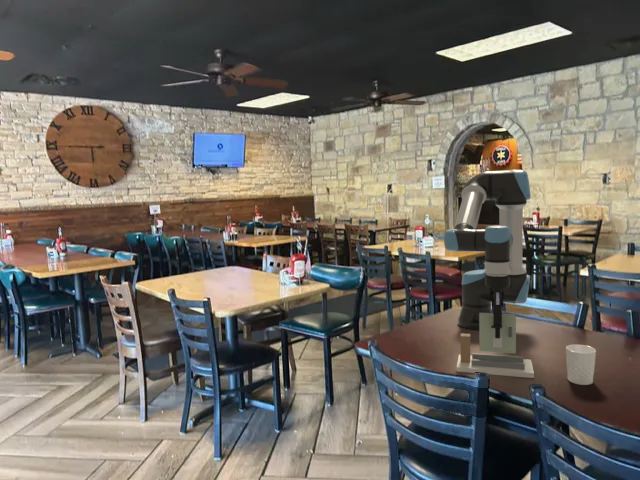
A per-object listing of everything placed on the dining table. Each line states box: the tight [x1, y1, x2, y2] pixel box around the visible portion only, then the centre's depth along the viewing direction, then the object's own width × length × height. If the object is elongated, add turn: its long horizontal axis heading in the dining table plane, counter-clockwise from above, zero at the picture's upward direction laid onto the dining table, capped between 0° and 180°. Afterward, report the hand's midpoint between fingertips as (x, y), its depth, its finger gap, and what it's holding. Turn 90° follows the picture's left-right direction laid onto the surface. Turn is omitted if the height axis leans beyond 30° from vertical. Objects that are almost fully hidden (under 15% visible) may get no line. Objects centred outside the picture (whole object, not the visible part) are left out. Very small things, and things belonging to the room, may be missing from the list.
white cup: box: [565, 343, 597, 386], centre depth 146 cm, size 8×8×10 cm
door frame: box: [456, 332, 535, 379], centre depth 158 cm, size 23×12×10 cm, turn 71°
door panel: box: [478, 313, 517, 354], centre depth 157 cm, size 11×4×12 cm, turn 71°
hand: (497, 345), depth 158 cm, fingers closed on door panel, 3 cm apart
